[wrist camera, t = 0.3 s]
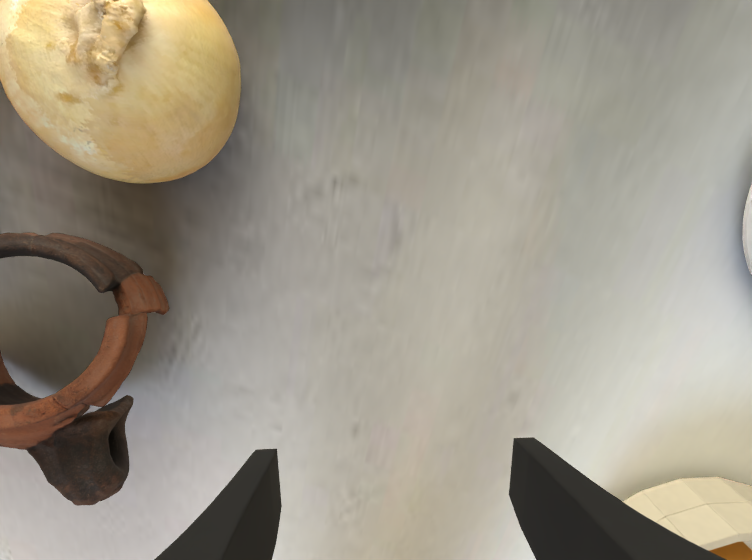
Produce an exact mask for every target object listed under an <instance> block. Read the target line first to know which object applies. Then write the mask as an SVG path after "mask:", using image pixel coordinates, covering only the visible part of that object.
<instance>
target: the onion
mask: <svg viewBox="0 0 752 560" xmlns="http://www.w3.org/2000/svg"><path fill="white" fill-rule="evenodd" d="M0 80H1V82H2V85H3V87H4V90H5V93H6V95H7V97H8V98H9V100H10V102H11V103H12V105H13V106H14V108H15V110H16V111H17V112H18V114H19V115H20V117H21V118H22V119H23V121H24V122H25V123H26V124H27V125H28V126H29V128H30V129H31V130H32V131H33V132H34V133H35V134H36V135H37V136H38V137H39V138H40V139H42V140H43V141H44V142H45V143H46V144H47V145H48V146H50V147H51V148H52V149H53V150H55V151H56V152H57V153H59V154H60V155H61V156H63V157H64V158H66V159H68V160H69V161H71V162H72V163H74V164H76V165H77V166H79V167H81V168H83V169H85V170H87V171H89V172H92V173H94V174H96V175H99V176H102V177H105V178H109V179H113V180H116V181H122V182H128V183H156V182H165V181H172V180H175V179H179V178H182V177H184V176H187V175H189V174H191V173H194V172H196V171H197V170H199V169H200V168H202V167H203V166H205V165H207V164H208V163H209V162H210V161H211V160H212V159H213V158H214V157H215V156H216V155H217V154H218V153H219V152H220V150H221V149H222V148H223V146H224V145H225V143H226V142H227V140H228V138H229V137H230V135H231V133H232V130H233V128H234V125H235V122H236V118H237V114H238V109H239V102H240V93H241V75H240V61H239V58H238V54H237V51H236V48H235V45H234V43H233V40H232V38H231V36H230V34H229V32H228V30H227V28H226V26H225V25H224V23H223V21H222V19H221V18H220V16H219V15H218V13H217V12H216V10H215V9H214V8H213V7H212V5H211V4H210V3H209V2H208V1H207V0H0Z"/></svg>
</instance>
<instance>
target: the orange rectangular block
mask: <svg viewBox="0 0 752 560" xmlns="http://www.w3.org/2000/svg"><path fill="white" fill-rule="evenodd" d="M710 552H712V553H714V554H716V555H718V556H720V557H722V558H724V559H726V560H752V550H751V549H750V548H749V547H748V546H747V545H746V544H745V543H744V542H736V543H733V544H729V545H726V546H723V547H720V548H716V549H713V550H710Z"/></svg>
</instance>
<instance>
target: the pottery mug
mask: <svg viewBox="0 0 752 560" xmlns="http://www.w3.org/2000/svg"><path fill="white" fill-rule="evenodd" d="M13 256H38V257H43V258H47V259H52V260H55V261H59V262H61V263H64V264H66V265H68V266H70V267H72V268H74V269H75V270H77V271H78V272H80V273H81V274H82V275H84V276H85V277H86V278H87V279H88V280H89V281H90V282H91V283H92V284H93V285H94V286H95V288H96V289H97V290H98V291H99V292H100V293H104V292H106V291H113V294H114V297H115V300H116V302H117V304H118V309H119V310H118V314H119V316H115V317H111V318H109V319H108V320H107V321H106V327H105V332H104V336H103V340H102V343H101V346H100V349H99V351H98V353H97V355H96V356H95V358H94V359H93V361H92V362H91V363H90V365H89V366H88V367H87V368H86V370H85V371H84V372H83V373H82V374H81V375H80V376H79V377H77V378H76V379H75V380H74V381H73V382H71V383H70V384H69V385H67V386H65V387H64V388H63V389H61V390H59V391H58V392H57V393H56V394H53V395H50V396H48V397H45V398H42V399H41V398H38V397H35V396H32V395H30V394H28V393H27V392H25V391H24V390H22V389H21V388H20V387H19V386H17V385H16V384H15V382H14V381H13V379H12V378H11V376H10V375H9V373H8V371H7V369H6V367H5V365H4V362H3V359H2V356H1V351H0V446H2V447H9V448H17V449H23V450H24V449H25V450H27V451H28V453H29V454H31V455H32V456H33V458H34V459H35V460H36V461H37V463H38V464H39V466H40V468H41V470H42V471H43V473H44V475H45V477H46V479H47V481H48V482H49V483H50V484H51V485H53V486H54V487H55V488H56V489H57V490H58V491H59V492H60V493H61V494H62V495H63V496H64V497H65V498H67V499H68V500H70V501H72V502H73V503H74V504H75V505H94V504H96V503H97V502H99V501H102V500H105V499H106V498H109V497H110V496H112V495H114V494H115V493H117V492H118V491H120V489H121V488H122V486H123V484H124V482H125V480H126V478H127V476H128V472H129V455H128V448H127V441H126V435H125V421H126V418H127V415H128V413H129V411H130V409H131V407H132V405H133V397H131V396H129V395H126V396H125V397H123V398H121V399H119V400H118V401H116V402H114V403H111V404H108V405H106V404H107V403H108V402H109V401H110V400H111V398H112V397H113V395H114V394H115V393H116V392H117V390H118V389H119V388H120V386H121V384H122V382H123V381H124V380H125V379H126V377H127V376H128V375H129V373H130V371H131V369H132V366H133V364H134V362H135V360H136V357H137V355H138V353H139V351H140V349H141V347H142V345H143V341H144V338H145V334H146V328H147V320H148V317H147V313H152V312H156V313H159V314H161V315H164V314H166V313H167V312H168V310H169V305H168V301H167V299H166V296H165V294H164V292H163V289H162V288H161V286H160V285H159V283H157V282H156V281H155V280H154V278H153V277H152V276H147V275H144V274H143V269H142V268H141V267H140V266H139V265H138V264H137V263H136V262H134V261H132V260H130V259H129V258H127V257H125V256H123V255H122V254H120V253H117V252H116V251H113V250H112V249H109V248H108V247H105V246H103V245H101V244H98V243H95V242H93V241H90V240H87V239H84V238H80V237H75V236H70V235H66V234H60V233H51V234H49V235H47V236H43V235H37V234H35V233H21V234H19V233H18V234H17V233H4V234H0V258H5V257H13ZM90 405H92V406H97V407H102V408H100V409H98V410H97V411H95V412H90V413H87V414H85V415H83V414H84V413H85V412H86V411H87V410H88V409H89V407H90ZM105 405H106V406H105ZM82 415H83V416H82Z"/></svg>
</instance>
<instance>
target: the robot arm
mask: <svg viewBox="0 0 752 560" xmlns="http://www.w3.org/2000/svg"><path fill="white" fill-rule="evenodd" d="M509 496H510V499H511V502H512V504H513V507H514V510H515V513H516V516H517V518H518V521H519V524H520V526H521V529H522V531H523V533H524V535H525V537H526V539H527V541H528V543H529V545H530V548H531V550H532V552H533V554H534V556H535V558H536V560H726V559H724V558H722V557H720V556H718V555H716V554H714V553H712V552H710V551H708V550H706V549H704V548H702V547H700V546H698V545H696V544H694V543H692V542H690V541H688V540H686V539H685V538H683V537H681V536H679V535H677V534H675V533H673V532H672V531H670V530H668V529H666V528H665V527H663V526H661V525H660V524H658V523H656V522H654V521H653V520H651V519H649V518H647V517H646V516H644V515H642V514H641V513H639V512H638V511H636V510H634V509H633V508H631V507H630V506H628V505H627V504H625V503H624V502H622V501H621V500H619V499H618V498H616V497H615V496H613V495H612V494H610V493H609V492H607V491H606V490H604V489H603V488H601V487H600V486H598V485H597V484H596V483H594V482H593V481H591V480H590V479H589V478H587V477H586V476H585V475H583V474H582V473H580V472H579V471H578V470H576V469H575V468H574V467H572V466H571V465H570V464H568V463H567V462H566V461H564V460H563V459H562V458H561V457H559V456H558V455H557V454H555V453H554V452H553V451H551V450H550V449H549V448H547V447H546V446H545V445H543V444H542V443H541V442H539V441H538V440H536V439H535V438H514V443H513V454H512V466H511V477H510V489H509ZM280 513H281V494H280V482H279V470H278V457H277V449H263V450H255V451H254V452H253V453H252V455H251V456H250V457H249V459H248V460H247V461H246V462H245V464H244V465H243V466H242V467H241V469H240V470H239V471H238V472H237V474H236V475H235V476H234V477H233V478H232V480H231V481H230V482H229V483H228V485H227V486H226V487H225V488H224V489H223V490H222V491H221V493H220V494H219V495H218V496H217V497H216V498H215V500H214V501H213V502H212V503H211V504H210V505H209V506H208V507H207V509H206V510H205V511H204V512H203V513H202V514H201V515H200V516H199V517H198V518H197V519H196V520H195V521H194V522H193V523H192V524H191V525H190V526H189V527H188V529H187V530H186V531H185V532H184V533H182V534H181V535H180V536H179V537H178V538H177V539H176V540H175V541H174V542H173V543H172V544H171V545H170V546H169V547H168V548H167V549H166V550H165V551H163V552H162V553H161V554H160V555H159V556H158V557H157V558H156V559H155V560H272V556H273V553H274V549H275V545H276V540H277V533H278V527H279V520H280Z"/></svg>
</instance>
